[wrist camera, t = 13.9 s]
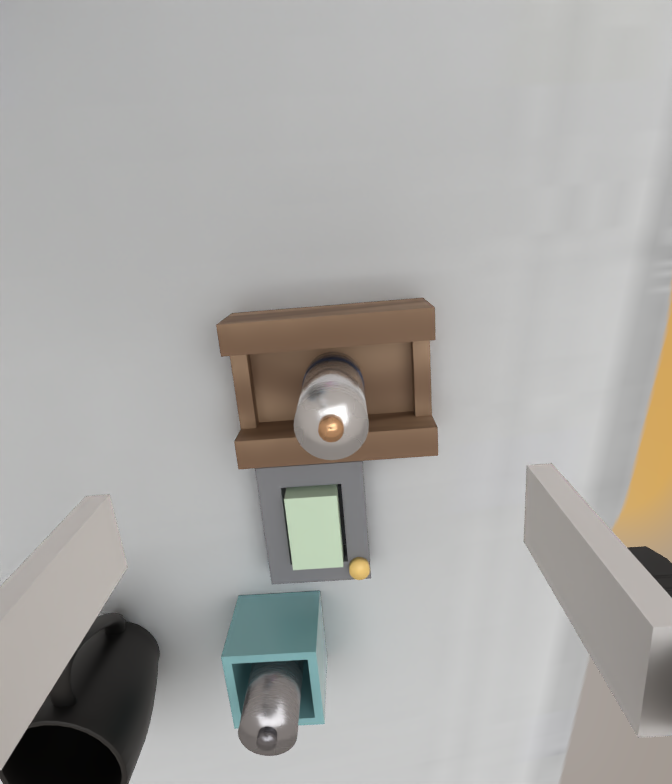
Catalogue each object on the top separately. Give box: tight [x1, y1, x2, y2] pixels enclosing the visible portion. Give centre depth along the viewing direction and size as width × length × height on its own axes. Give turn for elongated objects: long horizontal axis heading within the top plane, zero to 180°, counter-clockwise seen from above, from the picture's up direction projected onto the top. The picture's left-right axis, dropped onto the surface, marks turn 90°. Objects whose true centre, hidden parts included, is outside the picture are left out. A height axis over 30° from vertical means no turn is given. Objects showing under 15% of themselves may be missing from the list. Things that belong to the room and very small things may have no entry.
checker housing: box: [255, 461, 371, 584], centre depth 35 cm, size 9×7×3 cm
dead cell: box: [238, 660, 304, 756], centre depth 34 cm, size 4×4×9 cm
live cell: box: [294, 352, 369, 460], centre depth 28 cm, size 4×4×9 cm
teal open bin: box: [221, 591, 327, 729], centre depth 36 cm, size 6×6×6 cm
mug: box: [0, 613, 159, 784], centre depth 35 cm, size 8×12×10 cm
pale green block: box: [284, 484, 343, 570], centre depth 34 cm, size 5×3×2 cm, turn 5°
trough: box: [216, 298, 438, 469], centre depth 31 cm, size 9×12×4 cm
